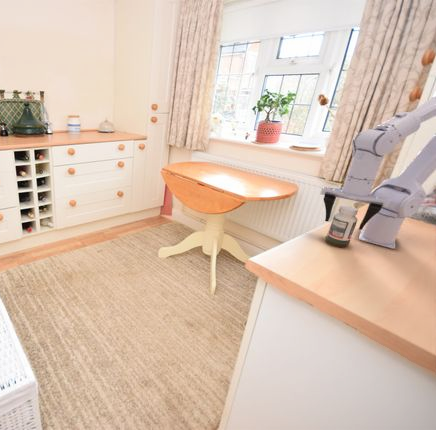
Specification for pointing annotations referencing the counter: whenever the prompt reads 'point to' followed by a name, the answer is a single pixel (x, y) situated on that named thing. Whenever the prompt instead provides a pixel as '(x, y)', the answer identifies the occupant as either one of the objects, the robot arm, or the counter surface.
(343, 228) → the pill bottle
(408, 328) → the counter surface
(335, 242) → the coaster stack
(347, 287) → the counter surface
